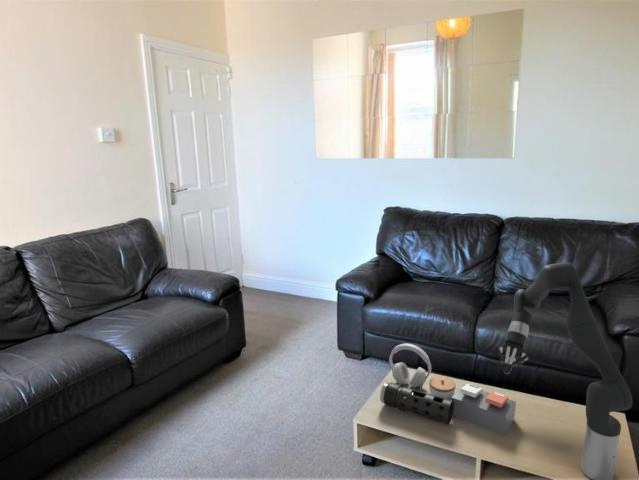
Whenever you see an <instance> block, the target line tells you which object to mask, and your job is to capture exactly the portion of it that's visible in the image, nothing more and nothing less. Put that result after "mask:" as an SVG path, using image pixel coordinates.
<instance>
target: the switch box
mask: <svg viewBox="0 0 639 480" xmlns="http://www.w3.org/2000/svg"><path fill="white" fill-rule="evenodd" d="M465 385H466V383H463V384H462V385H461V386H460V387H459V388H458V389H457V391H455V393H454V395H453V396H452V399H451V400H452V401H453V402H454V411H453V416H452V417H456V418H458V419H461V420H463V421H466V422H468V423H471V424H473V425H476V426H478V427H480V428H483V429H485V430H488V431H490V432H491V431H492V432H493V433H496V434H499V435H500V436H503V437H505V436H506V434H507V433H508V431H509V429H510V428H511V426H512V425H513V423H514V421H515V417H516V406H517V401H514V400H512V399H510V398H508V401H507V402H506V403H505V404H504V405H503V407H502V408H501V407H498V406H495V405H492V404H489V403H487V402H485V401H486V397H487V396H488V395H489V394H490V393H491V392H488V391H485V390H483V389H482V393H480V394H479V395H478V396H477V397H475V398H474V397H472V396H469V395H466V394H463V393H460V390H461V388H462V387H464V386H465Z"/></svg>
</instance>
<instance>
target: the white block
mask: <svg viewBox="0 0 639 480" xmlns="http://www.w3.org/2000/svg"><path fill="white" fill-rule="evenodd" d="M482 390H483V388H482V387H480V386H477V385H473V384H472V383H465V386H464V387H462V388H461V390H460V393H463V394H466V395H469V396H472V397H474V398H475V397H477V396H478V395H479V394H480V393H482Z"/></svg>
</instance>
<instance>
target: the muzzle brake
mask: <svg viewBox="0 0 639 480" xmlns="http://www.w3.org/2000/svg"><path fill="white" fill-rule="evenodd" d="M379 395H380V396H379V397H380V398H379V399H380V402H381V403H383V404H384V405H385V406H386V407H389V408H392V409H397V410H399V411H400V412H401V411H402V412H407V413H410V414H413V415H416V416H420V417H422V418H423V417H424V418H426V419H429V420H432V421H435V422H438V423H441V424H444V425H450V424H451V422H452V420H453V417H454V416H453V411H454V402H453V401H452V399H451V400H448V399H445V398H441V397H438V396H434V395H431V393H426V392H423V391H419V390H416V389H414V388H409V387H406V386H401V384H399V383H396V382H385V383H384V384H382V387H381V389H380V394H379Z"/></svg>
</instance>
